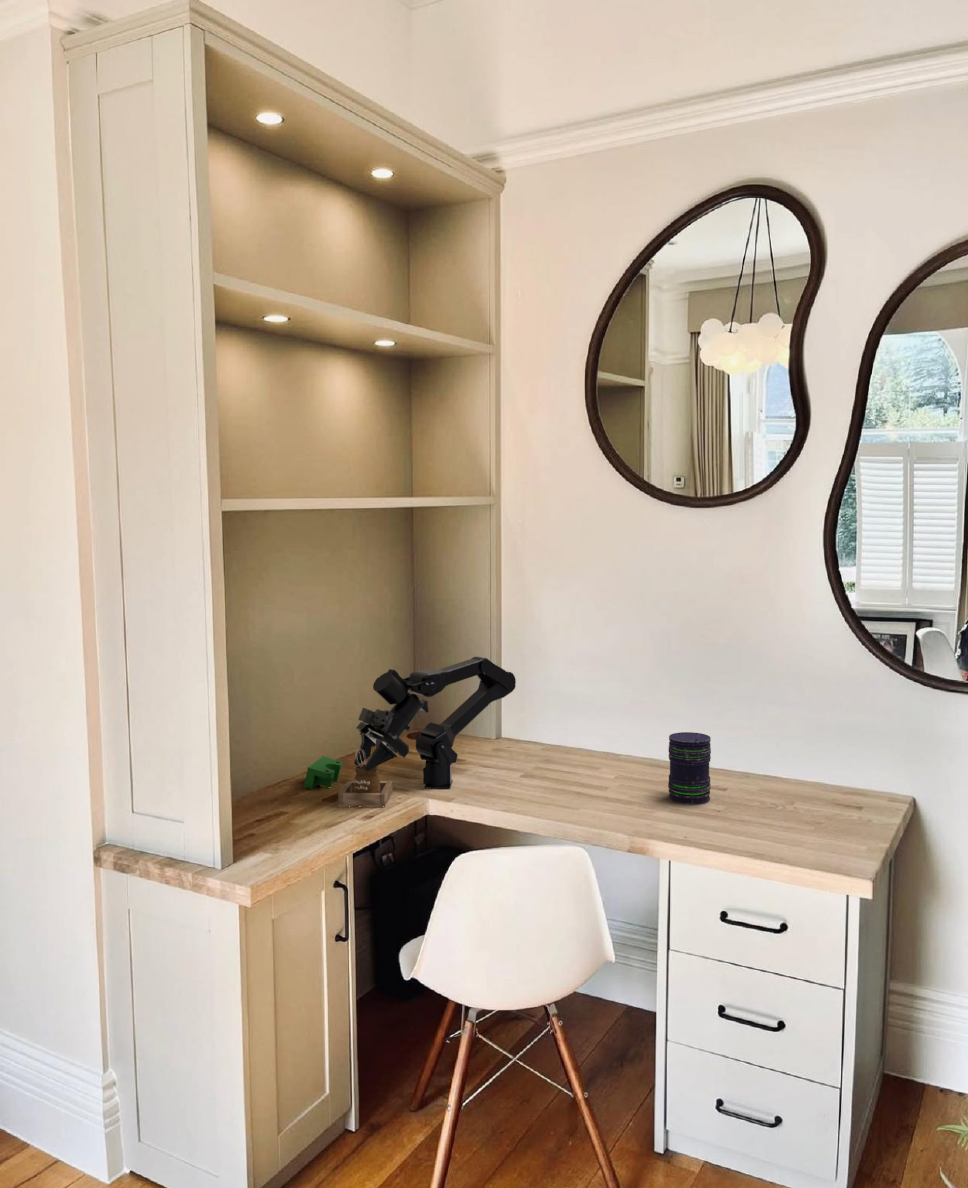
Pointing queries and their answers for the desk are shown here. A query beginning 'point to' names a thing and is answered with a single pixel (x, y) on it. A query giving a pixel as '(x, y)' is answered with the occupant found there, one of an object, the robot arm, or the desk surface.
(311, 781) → the clamp
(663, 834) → the desk surface
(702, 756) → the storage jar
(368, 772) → the utensil holder
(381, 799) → the socket block
